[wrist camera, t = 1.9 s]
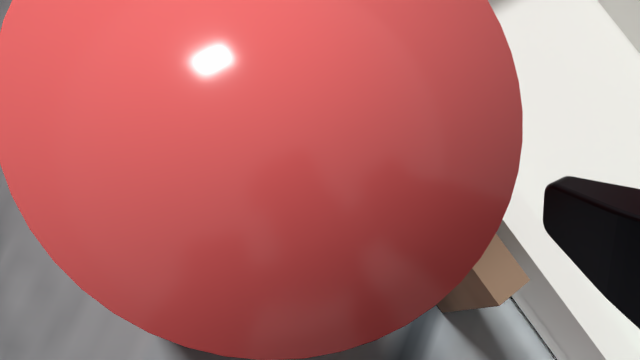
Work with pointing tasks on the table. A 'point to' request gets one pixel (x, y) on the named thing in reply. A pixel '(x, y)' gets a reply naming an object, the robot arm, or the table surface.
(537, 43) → the tray
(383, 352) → the table surface
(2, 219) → the table surface
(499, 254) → the drawer
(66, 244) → the pink cylinder
